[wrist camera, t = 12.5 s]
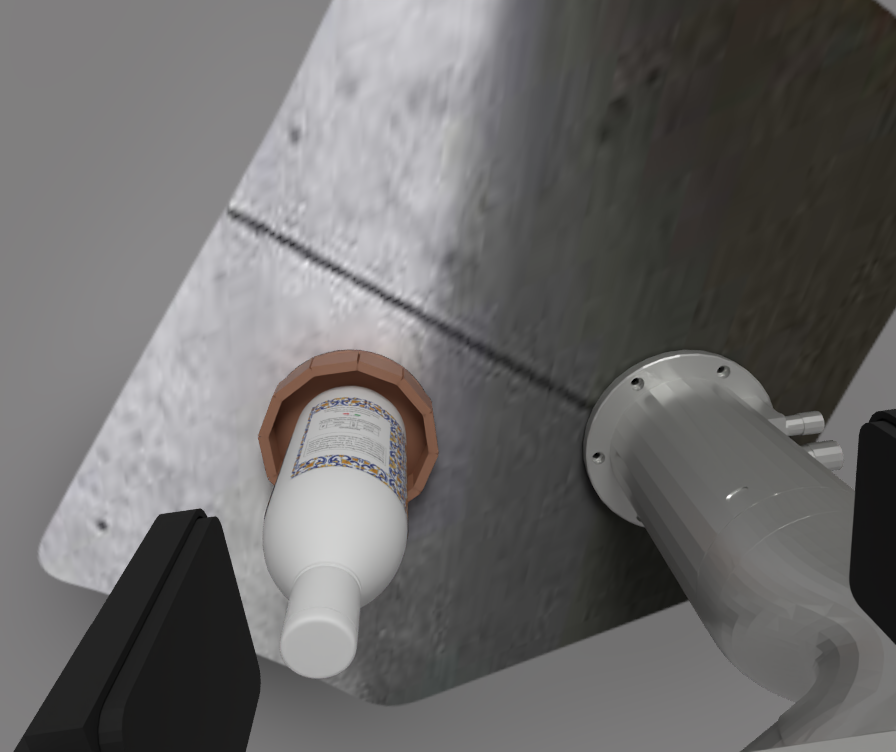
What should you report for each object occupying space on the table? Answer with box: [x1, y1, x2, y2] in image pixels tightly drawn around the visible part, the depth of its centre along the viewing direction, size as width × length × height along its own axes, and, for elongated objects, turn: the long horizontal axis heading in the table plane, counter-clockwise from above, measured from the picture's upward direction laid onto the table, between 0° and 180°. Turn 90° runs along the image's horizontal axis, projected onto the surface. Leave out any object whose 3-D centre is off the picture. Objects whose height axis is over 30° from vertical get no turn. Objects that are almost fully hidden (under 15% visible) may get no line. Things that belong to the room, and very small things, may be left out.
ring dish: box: [258, 350, 439, 502], centre depth 46 cm, size 11×11×3 cm
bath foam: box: [263, 386, 408, 679], centre depth 37 cm, size 7×7×20 cm
